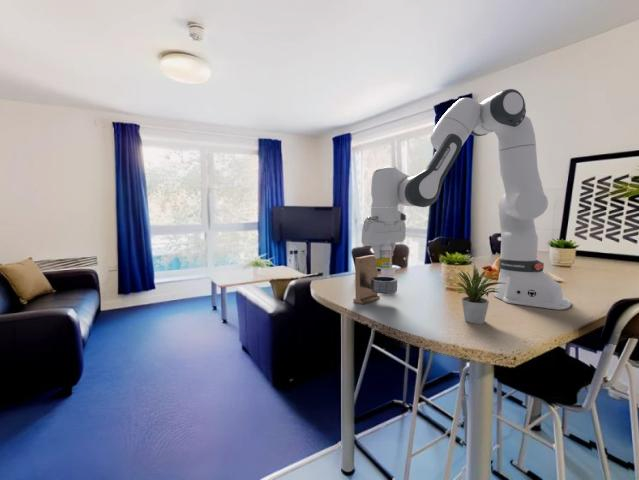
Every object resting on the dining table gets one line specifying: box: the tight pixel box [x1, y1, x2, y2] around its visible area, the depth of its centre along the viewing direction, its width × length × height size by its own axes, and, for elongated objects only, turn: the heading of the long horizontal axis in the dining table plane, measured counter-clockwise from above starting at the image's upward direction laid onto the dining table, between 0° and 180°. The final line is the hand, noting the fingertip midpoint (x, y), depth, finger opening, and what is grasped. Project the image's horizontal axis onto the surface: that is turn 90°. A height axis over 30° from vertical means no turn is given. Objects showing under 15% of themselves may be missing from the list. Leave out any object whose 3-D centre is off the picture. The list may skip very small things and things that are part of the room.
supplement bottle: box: [376, 240, 393, 270], centre depth 108 cm, size 5×5×10 cm
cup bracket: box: [352, 254, 398, 305], centre depth 111 cm, size 14×10×16 cm
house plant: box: [455, 264, 505, 325], centre depth 91 cm, size 14×14×16 cm
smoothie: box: [380, 264, 397, 278], centre depth 129 cm, size 6×6×14 cm
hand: (384, 257), depth 108 cm, fingers closed on supplement bottle, 5 cm apart
